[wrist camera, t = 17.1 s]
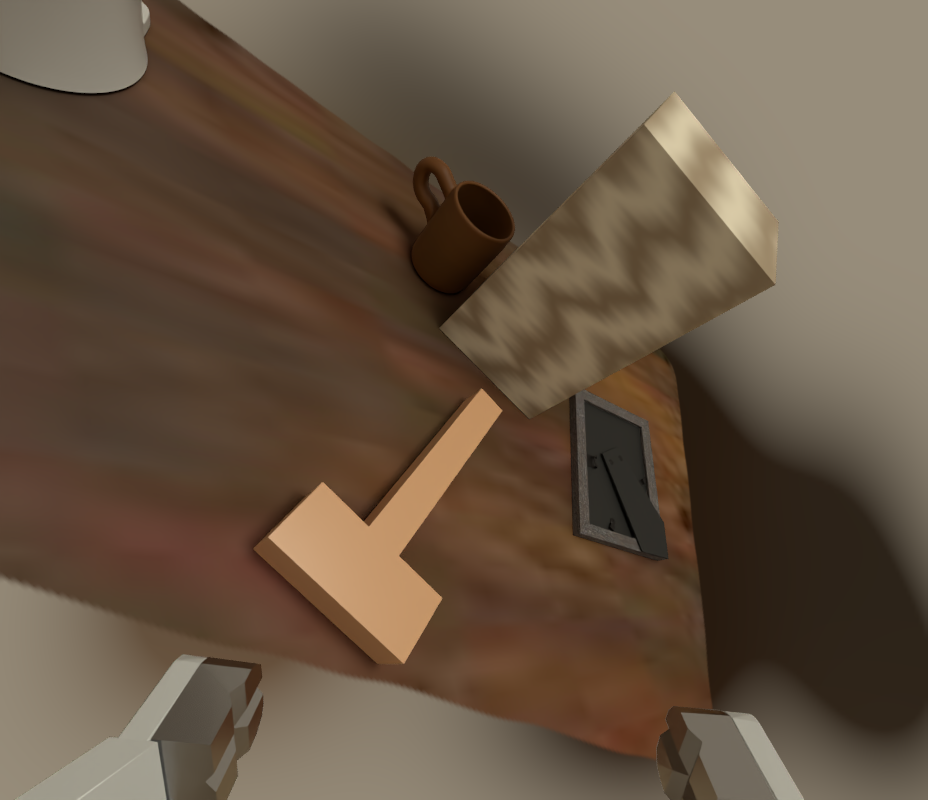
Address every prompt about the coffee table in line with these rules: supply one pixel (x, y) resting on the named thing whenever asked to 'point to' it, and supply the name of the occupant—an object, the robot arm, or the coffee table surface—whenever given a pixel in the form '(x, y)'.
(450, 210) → the mug
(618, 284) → the pedestal
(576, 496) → the picture frame
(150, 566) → the coffee table surface
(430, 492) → the t bar
